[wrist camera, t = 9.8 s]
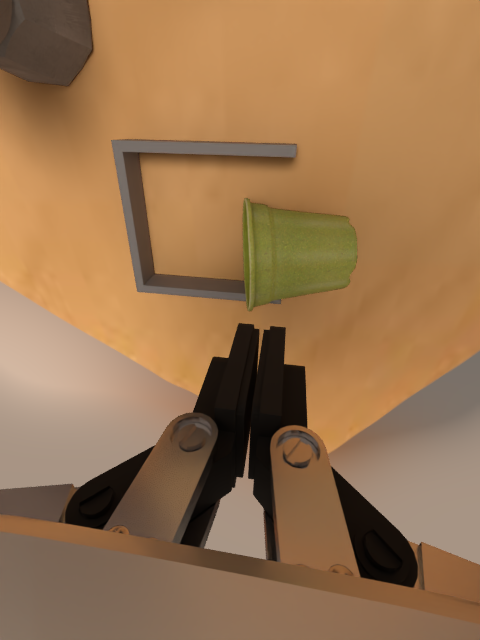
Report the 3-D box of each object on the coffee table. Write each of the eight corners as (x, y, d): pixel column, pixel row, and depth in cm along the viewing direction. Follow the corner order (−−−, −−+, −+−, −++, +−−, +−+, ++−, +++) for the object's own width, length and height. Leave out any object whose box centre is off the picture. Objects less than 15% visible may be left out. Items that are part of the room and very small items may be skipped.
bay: (296, 144, 26) (296, 145, 23) (281, 290, 33) (280, 304, 30) (128, 139, 28) (111, 140, 25) (148, 279, 35) (137, 291, 32)
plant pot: (370, 307, 22) (250, 311, 22) (328, 308, 32) (244, 311, 32) (367, 175, 22) (246, 178, 22) (326, 216, 32) (241, 218, 31)
